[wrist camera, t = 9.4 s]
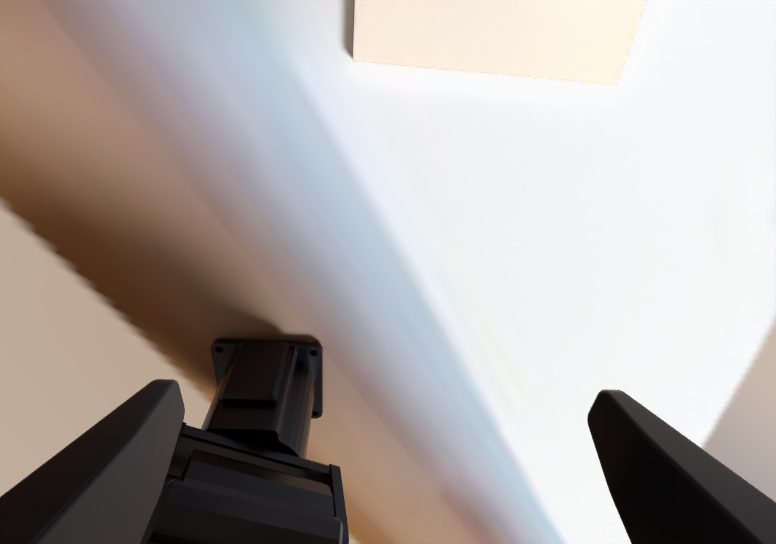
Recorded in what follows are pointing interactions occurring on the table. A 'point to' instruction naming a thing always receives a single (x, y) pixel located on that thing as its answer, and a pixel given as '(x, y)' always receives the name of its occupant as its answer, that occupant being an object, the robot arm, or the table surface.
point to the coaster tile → (500, 36)
